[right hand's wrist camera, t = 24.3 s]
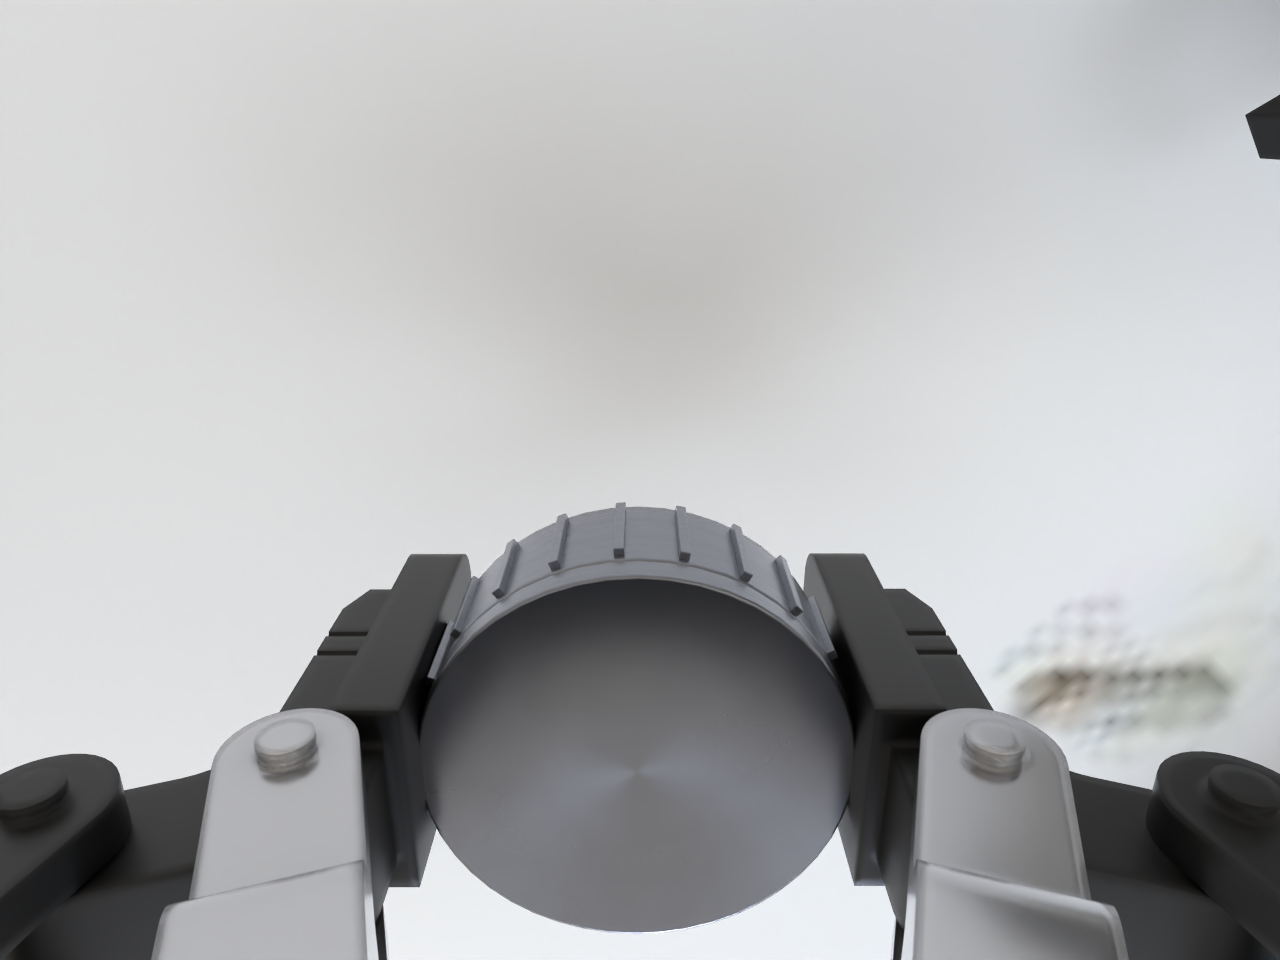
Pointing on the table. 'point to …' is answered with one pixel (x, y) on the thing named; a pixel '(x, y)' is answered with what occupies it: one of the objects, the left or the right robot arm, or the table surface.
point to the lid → (636, 723)
